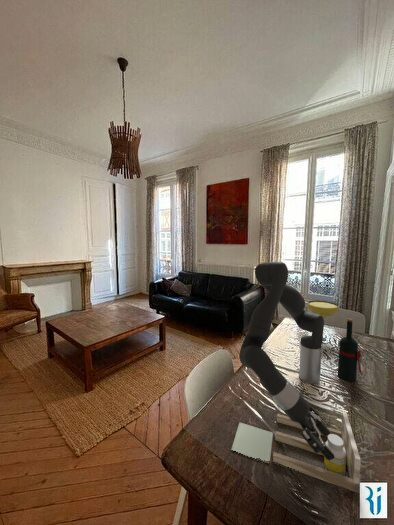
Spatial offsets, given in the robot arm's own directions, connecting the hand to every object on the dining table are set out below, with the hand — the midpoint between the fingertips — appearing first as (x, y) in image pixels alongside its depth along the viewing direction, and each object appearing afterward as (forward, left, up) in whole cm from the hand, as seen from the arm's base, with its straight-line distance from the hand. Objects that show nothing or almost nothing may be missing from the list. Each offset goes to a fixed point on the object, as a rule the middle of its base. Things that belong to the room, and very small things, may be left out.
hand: (329, 445), depth 67 cm
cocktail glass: (-96, +7, -8) cm, 97 cm away
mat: (0, -23, -7) cm, 24 cm away
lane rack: (-4, -5, -7) cm, 10 cm away
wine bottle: (-53, +15, -8) cm, 56 cm away
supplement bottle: (0, +1, -8) cm, 8 cm away
